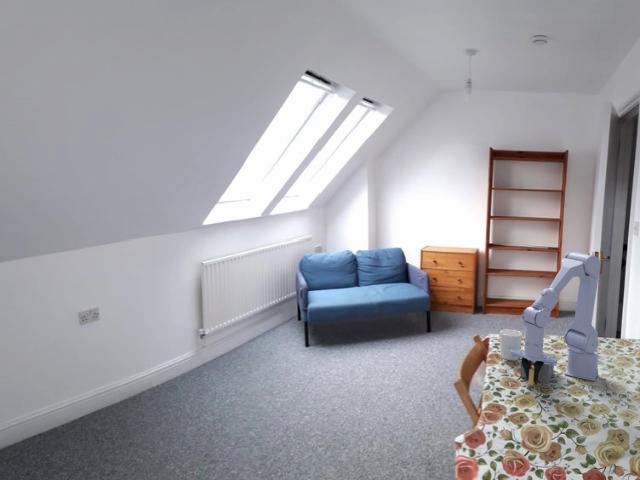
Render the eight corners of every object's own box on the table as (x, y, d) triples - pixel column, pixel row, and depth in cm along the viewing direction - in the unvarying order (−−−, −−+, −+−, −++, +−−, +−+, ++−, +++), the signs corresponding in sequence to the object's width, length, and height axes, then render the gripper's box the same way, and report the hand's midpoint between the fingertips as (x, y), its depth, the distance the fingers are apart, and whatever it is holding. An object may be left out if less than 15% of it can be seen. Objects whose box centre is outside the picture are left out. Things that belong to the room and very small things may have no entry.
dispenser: (553, 372, 172) (554, 354, 170) (547, 384, 163) (548, 365, 162) (526, 367, 177) (527, 349, 176) (519, 377, 168) (520, 359, 167)
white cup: (522, 362, 181) (524, 336, 180) (500, 360, 183) (501, 335, 181) (518, 353, 189) (519, 329, 187) (497, 352, 190) (498, 328, 189)
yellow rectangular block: (539, 374, 170) (540, 360, 169) (533, 385, 162) (534, 370, 161) (534, 373, 170) (535, 359, 170) (528, 384, 162) (529, 369, 162)
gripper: (508, 341, 162) (506, 379, 164) (555, 350, 153) (552, 390, 155) (513, 335, 167) (511, 372, 169) (559, 343, 159) (556, 382, 161)
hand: (531, 380), depth 163 cm, fingers closed on yellow rectangular block
